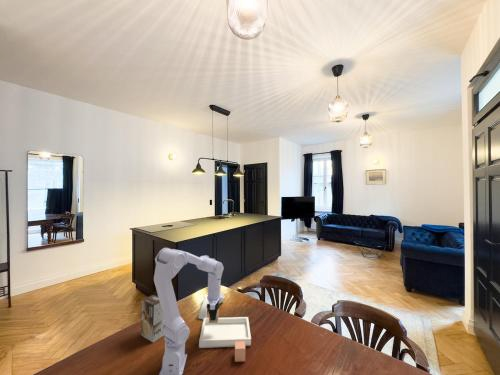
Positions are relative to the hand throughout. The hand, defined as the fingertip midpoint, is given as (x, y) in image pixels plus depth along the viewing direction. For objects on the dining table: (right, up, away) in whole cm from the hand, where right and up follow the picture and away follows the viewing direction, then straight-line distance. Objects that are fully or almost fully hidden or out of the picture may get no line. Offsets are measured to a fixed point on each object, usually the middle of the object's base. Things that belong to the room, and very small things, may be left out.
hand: (213, 316), depth 98 cm
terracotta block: (+13, -9, -13) cm, 20 cm away
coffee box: (-27, -8, -1) cm, 29 cm away
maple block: (0, -2, 0) cm, 2 cm away
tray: (+6, -9, +1) cm, 10 cm away
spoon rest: (-5, -9, +23) cm, 25 cm away
